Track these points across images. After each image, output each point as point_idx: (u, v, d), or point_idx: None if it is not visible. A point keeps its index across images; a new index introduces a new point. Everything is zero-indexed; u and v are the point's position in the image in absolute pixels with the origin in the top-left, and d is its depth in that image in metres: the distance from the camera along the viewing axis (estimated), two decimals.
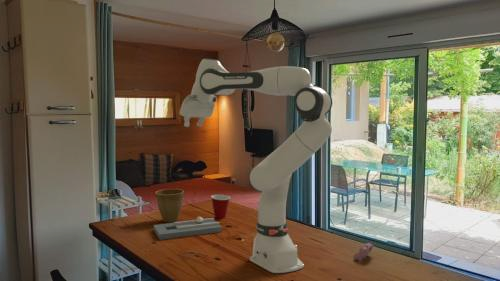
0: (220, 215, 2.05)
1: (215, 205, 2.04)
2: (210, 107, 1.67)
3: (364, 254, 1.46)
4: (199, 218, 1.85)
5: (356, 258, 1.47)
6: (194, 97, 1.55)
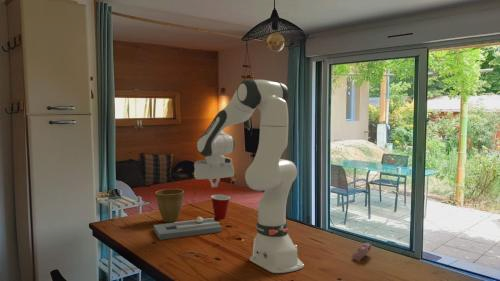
0: (220, 215, 2.05)
1: (215, 205, 2.04)
2: (228, 168, 1.89)
3: (363, 254, 1.46)
4: (199, 218, 1.85)
5: (354, 257, 1.47)
6: (204, 161, 1.85)
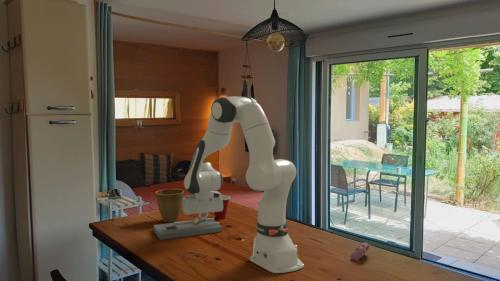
0: (220, 215, 2.05)
1: None
2: (217, 202, 1.88)
3: (361, 254, 1.46)
4: (194, 219, 1.84)
5: (353, 257, 1.48)
6: (192, 197, 1.84)
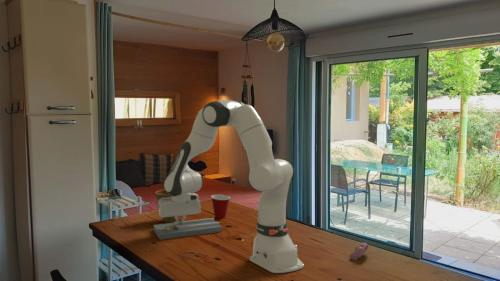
0: (220, 215, 2.05)
1: (215, 205, 2.04)
2: (195, 204, 1.83)
3: (360, 253, 1.46)
4: None
5: (352, 257, 1.48)
6: (168, 199, 1.79)
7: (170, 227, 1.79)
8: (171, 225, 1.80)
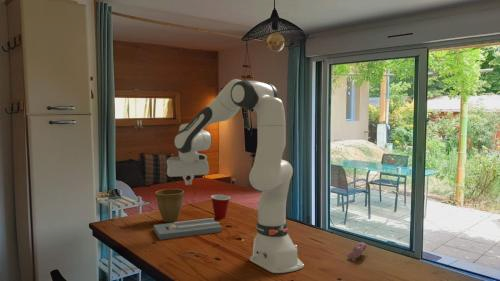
0: (220, 215, 2.05)
1: (215, 205, 2.04)
2: (203, 165, 1.83)
3: (358, 253, 1.46)
4: None
5: (350, 257, 1.48)
6: (177, 158, 1.79)
7: (173, 227, 1.80)
8: (174, 225, 1.81)
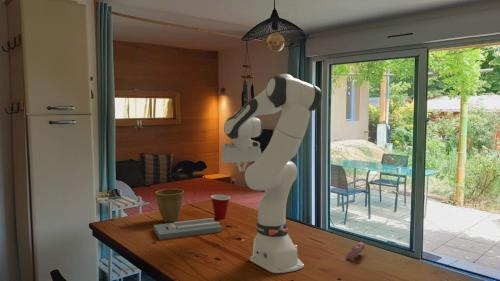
0: (220, 215, 2.05)
1: (215, 205, 2.04)
2: (256, 152, 1.87)
3: (357, 253, 1.47)
4: None
5: (348, 257, 1.48)
6: (232, 145, 1.83)
7: (172, 227, 1.79)
8: (174, 225, 1.81)
